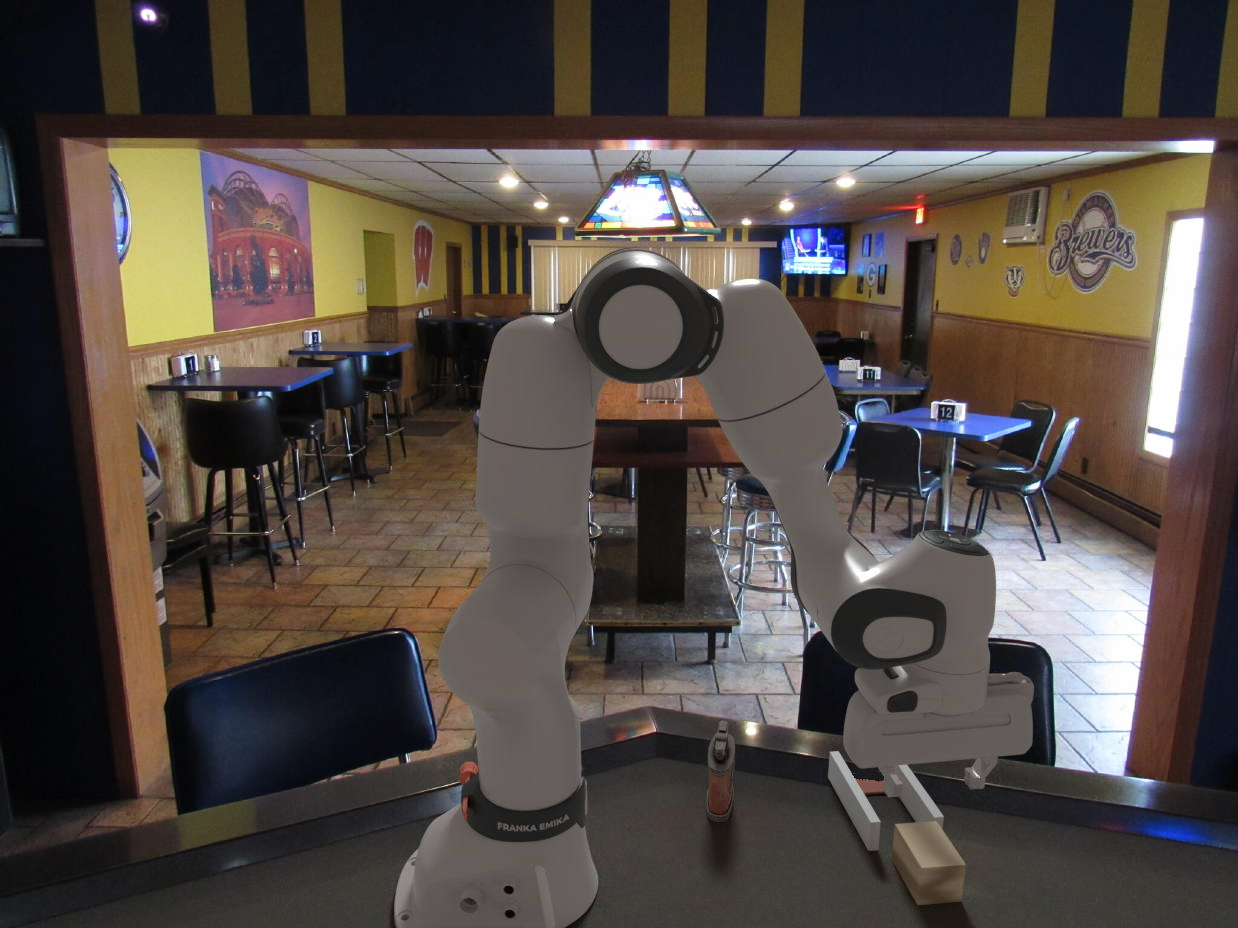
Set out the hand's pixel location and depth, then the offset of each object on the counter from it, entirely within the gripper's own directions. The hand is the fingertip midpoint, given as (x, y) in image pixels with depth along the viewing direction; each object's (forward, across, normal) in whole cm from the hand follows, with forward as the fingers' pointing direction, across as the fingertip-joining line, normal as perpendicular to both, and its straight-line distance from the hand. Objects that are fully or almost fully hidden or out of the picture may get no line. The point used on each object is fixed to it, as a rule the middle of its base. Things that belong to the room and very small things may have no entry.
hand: (933, 789), depth 93 cm
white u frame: (+11, +1, -11) cm, 16 cm away
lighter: (+11, +21, -15) cm, 28 cm away
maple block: (+11, 0, +1) cm, 11 cm away
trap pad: (+11, +1, -16) cm, 20 cm away
